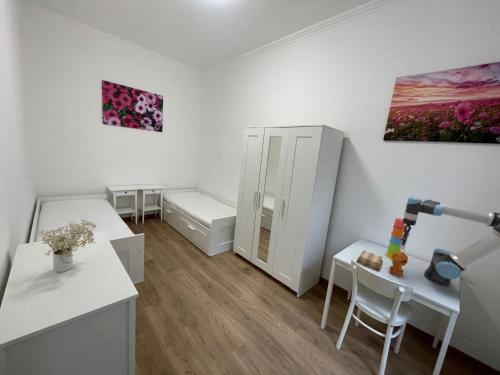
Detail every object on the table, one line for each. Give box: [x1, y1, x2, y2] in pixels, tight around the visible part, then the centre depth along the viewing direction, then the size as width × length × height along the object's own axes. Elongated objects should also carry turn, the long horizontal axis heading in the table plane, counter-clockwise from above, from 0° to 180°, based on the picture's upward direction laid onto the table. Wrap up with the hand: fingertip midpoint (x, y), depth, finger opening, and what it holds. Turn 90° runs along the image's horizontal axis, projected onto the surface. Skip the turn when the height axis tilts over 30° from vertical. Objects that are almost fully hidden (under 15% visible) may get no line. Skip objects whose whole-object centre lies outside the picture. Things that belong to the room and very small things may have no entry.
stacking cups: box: [385, 217, 406, 259], centre depth 184 cm, size 10×10×35 cm
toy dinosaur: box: [388, 250, 409, 277], centre depth 160 cm, size 11×11×18 cm
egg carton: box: [356, 250, 384, 273], centre depth 172 cm, size 16×16×6 cm
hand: (402, 246), depth 157 cm, fingers open, 13 cm apart
